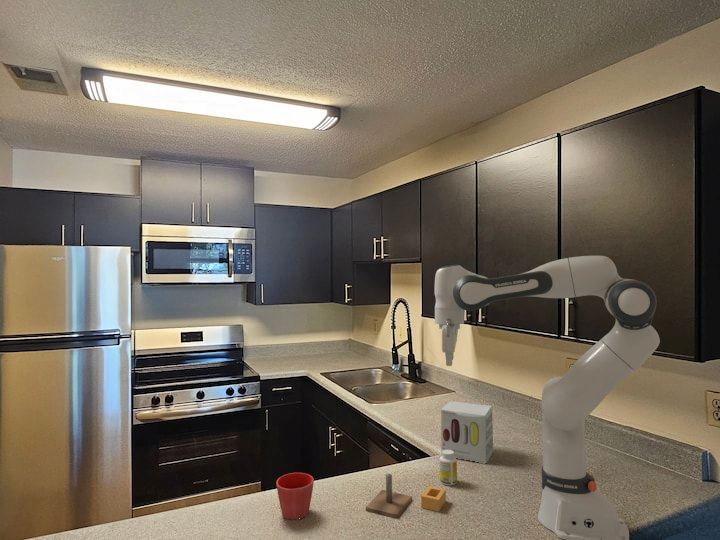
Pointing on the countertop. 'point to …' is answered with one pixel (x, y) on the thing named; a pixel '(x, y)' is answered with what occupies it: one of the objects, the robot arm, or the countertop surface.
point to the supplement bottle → (448, 468)
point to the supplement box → (467, 430)
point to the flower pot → (295, 494)
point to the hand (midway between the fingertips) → (449, 362)
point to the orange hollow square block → (433, 498)
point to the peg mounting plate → (389, 501)
